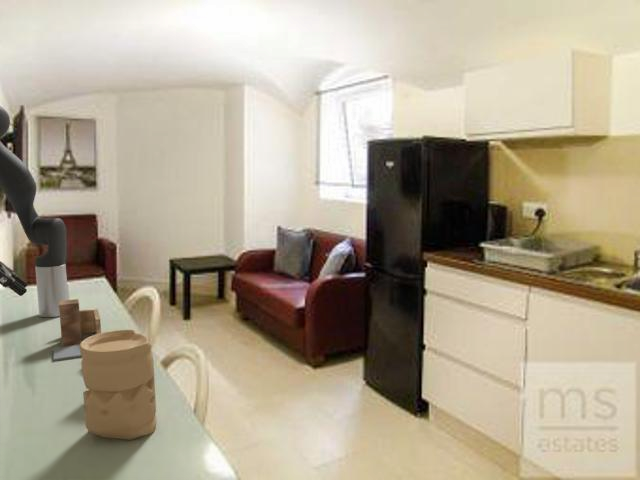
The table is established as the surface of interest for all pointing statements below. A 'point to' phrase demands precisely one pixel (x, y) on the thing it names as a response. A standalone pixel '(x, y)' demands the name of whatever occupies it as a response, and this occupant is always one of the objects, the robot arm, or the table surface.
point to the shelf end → (90, 321)
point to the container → (119, 384)
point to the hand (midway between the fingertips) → (24, 290)
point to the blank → (70, 322)
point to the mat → (66, 353)
